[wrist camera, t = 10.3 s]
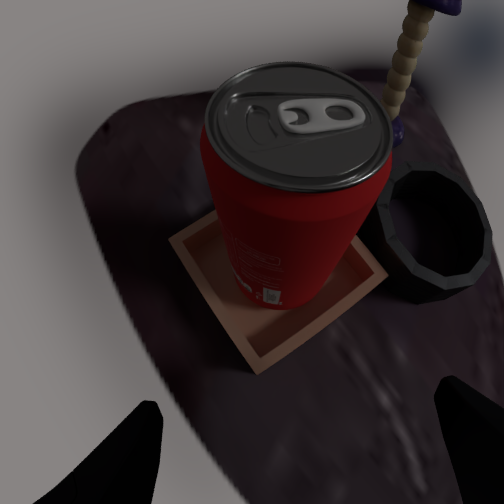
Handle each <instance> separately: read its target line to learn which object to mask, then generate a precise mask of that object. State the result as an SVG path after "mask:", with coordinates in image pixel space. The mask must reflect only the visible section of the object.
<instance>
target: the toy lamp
mask: <svg viewBox="0 0 504 504" xmlns="http://www.w3.org/2000/svg"><path fill="white" fill-rule="evenodd" d="M461 5H462V0H409V2H408V6H407V8H408V9H407V10H408V15H407V16H406V17H405V19H404V21H403V25H402V29H403V33H402V34H401V35H400V36H399V39H398V42H397V47H398V50H397V51H396V52H395V53H394V55H393V58H392V66H393V67H392V68H391V69H390V70H389V72H388V75H387V82H388V83H387V84H386V85H385V87H384V89H383V94H382V95H383V98H382V99H381V101H380V102H381V104H382V105H383V107H384V108H385V110H386V112H387V114H388V116H389V118H390V121H391V124H392V129H393V146H392V148H393V147H396V146H398V145H399V144H401V142H402V141H403V138H404V127H403V124H402V121H401V119H400V118H399V116H398V113H399V110H400V104H401V103H402V102H403V100H404V98H405V90H406V89H407V88H408V87H409V85H410V82H411V73H412V72H413V71H414V70H415V68H416V64H417V58H416V57H417V56H418V55H419V54H420V53H421V50H422V46H423V43H422V40H423V39H424V38H425V37H426V35H427V33H428V29H429V26H428V22H429V21H430V20H431V19H432V18H433V16H434V11H435V10H436V11H438V12H441V13H444V14H448V15H452V16H457V15H459V14H460V12H461Z"/></svg>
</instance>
